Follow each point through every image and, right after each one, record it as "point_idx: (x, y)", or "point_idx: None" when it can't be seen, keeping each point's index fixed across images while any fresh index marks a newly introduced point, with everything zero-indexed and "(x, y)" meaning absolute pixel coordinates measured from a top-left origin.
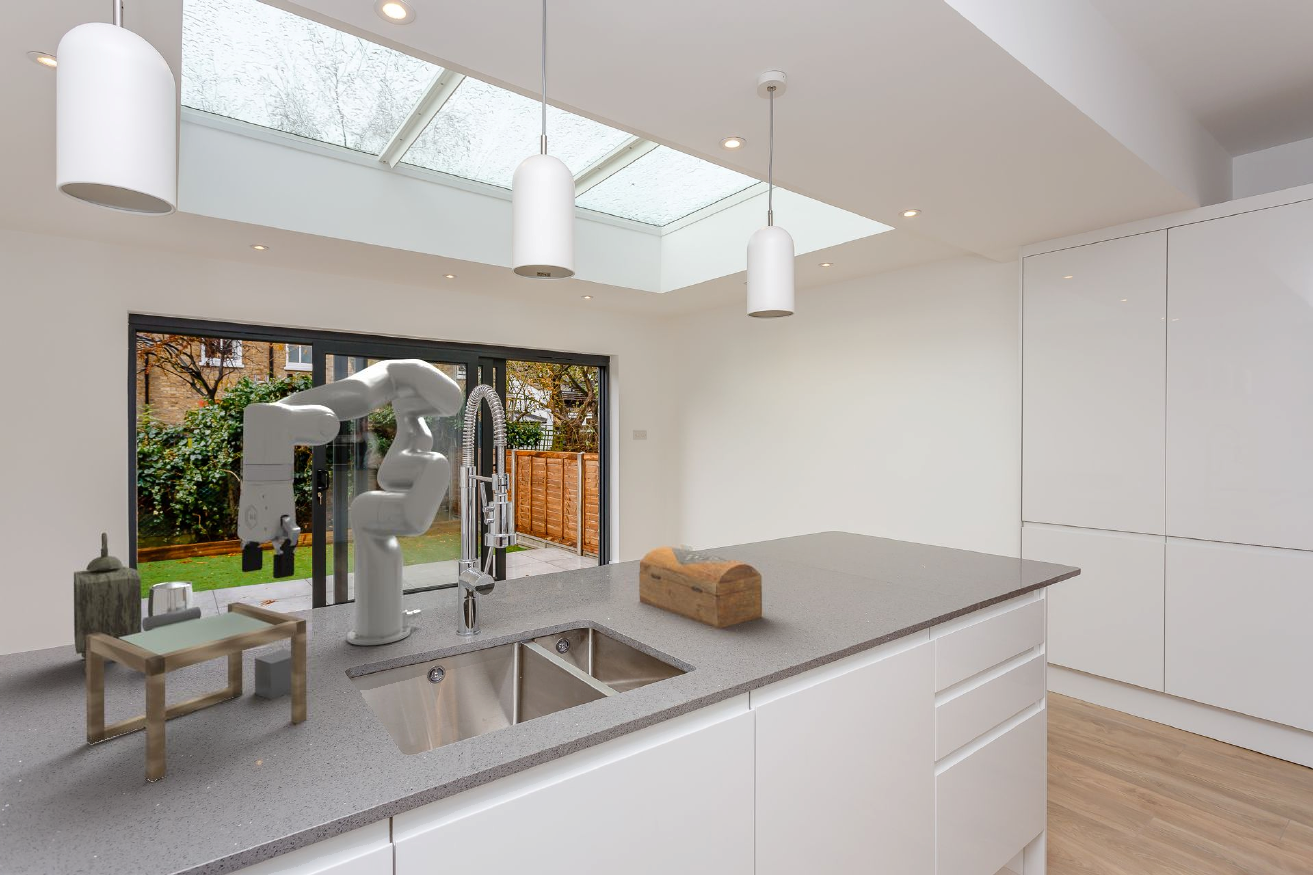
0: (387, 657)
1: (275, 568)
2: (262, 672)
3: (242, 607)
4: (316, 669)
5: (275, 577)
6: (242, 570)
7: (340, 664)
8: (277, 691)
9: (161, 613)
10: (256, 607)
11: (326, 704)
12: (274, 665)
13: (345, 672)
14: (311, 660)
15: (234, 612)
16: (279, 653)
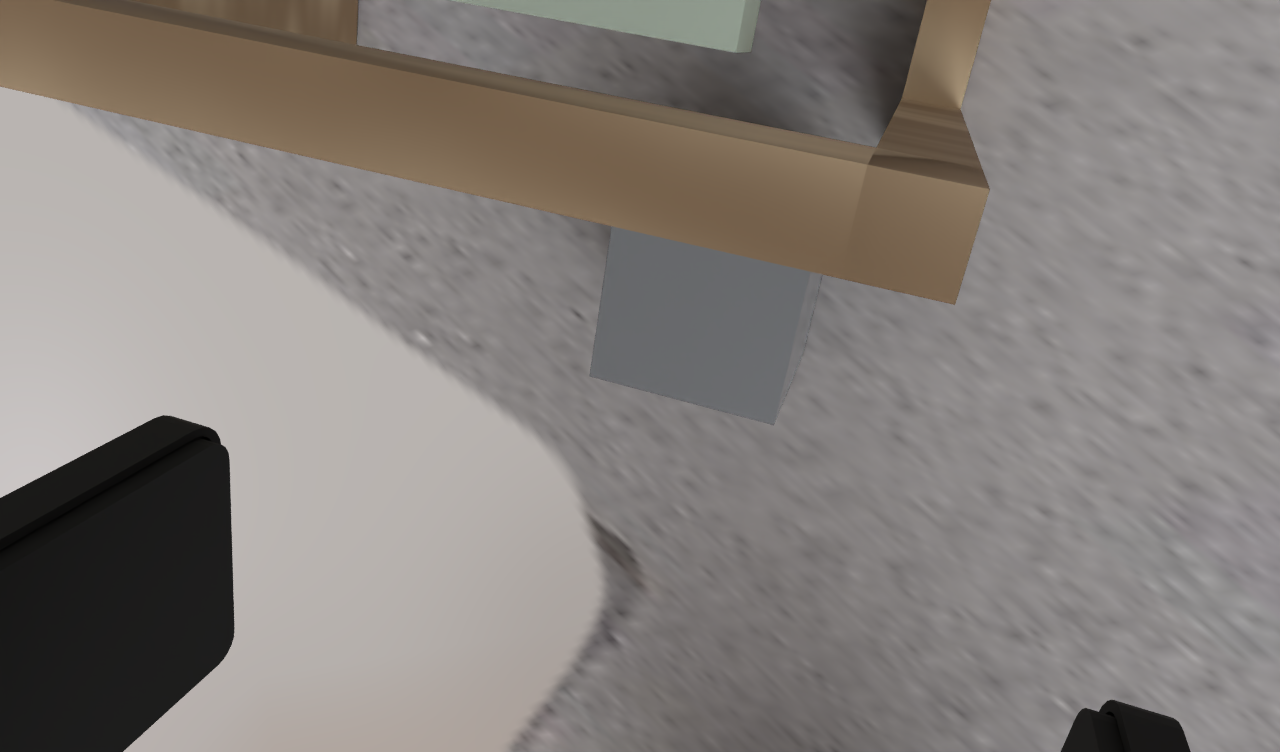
0: (582, 727)
1: (53, 482)
2: None
3: (655, 137)
4: (793, 540)
5: (170, 421)
6: (1150, 715)
7: (727, 618)
8: None
9: None
10: (508, 191)
11: (380, 201)
12: None
13: (615, 534)
14: (934, 642)
15: (677, 37)
16: (736, 354)
